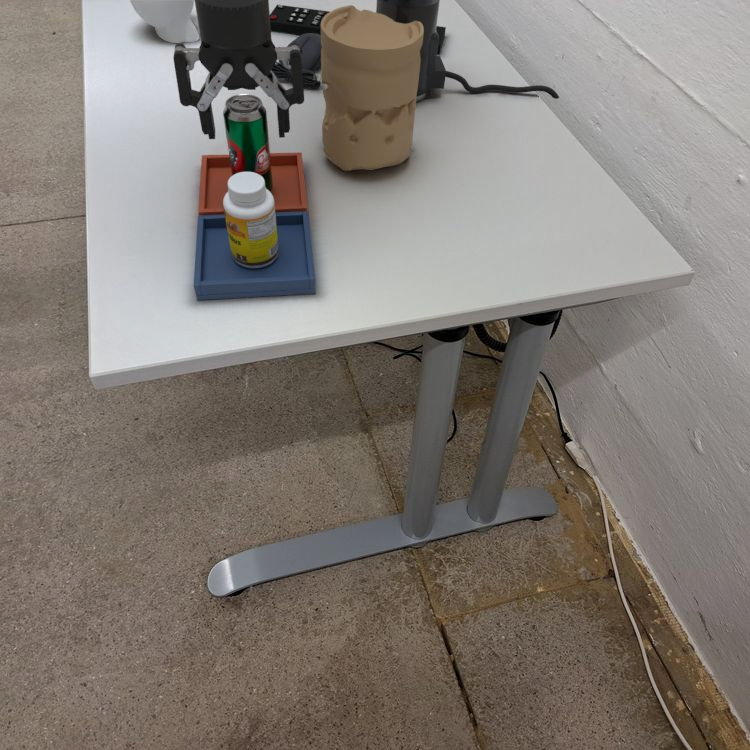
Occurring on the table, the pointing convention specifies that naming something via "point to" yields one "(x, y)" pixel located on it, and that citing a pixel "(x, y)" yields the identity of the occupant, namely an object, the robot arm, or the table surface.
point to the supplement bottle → (250, 220)
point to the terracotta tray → (284, 191)
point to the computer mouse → (305, 61)
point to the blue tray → (232, 280)
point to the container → (368, 87)
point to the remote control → (311, 22)
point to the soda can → (248, 136)
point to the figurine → (168, 18)
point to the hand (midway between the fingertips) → (247, 134)
